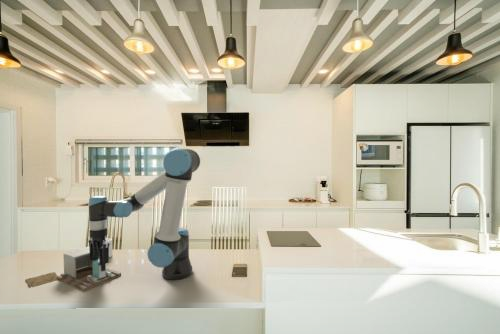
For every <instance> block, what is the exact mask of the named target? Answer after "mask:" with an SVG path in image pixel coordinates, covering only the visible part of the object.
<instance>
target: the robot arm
mask: <svg viewBox="0 0 500 334" xmlns="http://www.w3.org/2000/svg"><path fill="white" fill-rule="evenodd" d="M162 161H163V163H162V164H163V168H164V171H162V173H161V174H159V175H157V176H156V177H155V178H154V179H152V180H151V181H150V182H148V183H147V184H146V185H144V186H143V187H141V188H140V189H139V190H137V191H136V192H135V193H134V194H132V195H131V196H130V197H127V198H124V199H123V198H122V199H119V200H108V197H107V196H106V195H95V196H91V197H89V200H88V215H89V219H88V224H89V228H88V229H89V231H88V232H89V238H91V239H88V242H87V243H88V246H89V251H90V260H92V262H93V261H94V260H97V259H99V260H100V264H98V265H99V278H103V277H105V270H106V268H107V267H106V268H105V264H108V263H109V262H110V261H109V259H110V258H109V245H110V244H109V243H106V240H105V238H107V236H108V217H109V218H120V219H121V218H128V217H129V216H130V215H132V213H133V212H137V211H140V210H141V209H143V208H144V205H146V204H147V203H148V202H150V201H151V200H153V199H154V198H156V197H157V196H158V195H159V194H161V193H163V191H165V196H164V200H163V205H162V212H161V217H160V222H159V223H160V224H159V227H158V231H157V232H156V233H155V234H154V237H153V243H152V245H150V246H149V248H148V249H147V258H148V261H149V262H150V263H151V264H152V265H153V266H154V267H156V268H162V270H161V277H163V278H164V279H166V280H170V281H172V280H173V281H174V280H183V279H186V278H188V277H190V276H191V275H192V274H193V266H192V262H191V260H190V248H189V247H190V235H189V230H188V229H187V228H180V226H181V224H180V223H181V219H182V212H183V208H184V201H185V196H186V191H187V185H188V183H190V182H191V181H192V178H193V177H192V176H193V173H194V172H196V171H197V170H198V169H199V167H200V165H201V157H200V155H199V154H198V152H197V151H195V150H194V149H190V148H189V149H188V148H174V149H172V150H170V151H168V152H167V153H166V154H165V156H164V157H163V160H162ZM102 247H103V248H102Z"/></svg>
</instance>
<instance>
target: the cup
mask: <svg viewBox="0 0 500 334" xmlns="http://www.w3.org/2000/svg"><path fill="white" fill-rule="evenodd" d="M105 240H106V243H109V244H110V245H109V259H110V258H111V257H112V256H113V238H110V237H105ZM102 248H103V247H102Z"/></svg>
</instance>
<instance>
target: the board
mask: <svg viewBox="0 0 500 334" xmlns="http://www.w3.org/2000/svg"><path fill="white" fill-rule="evenodd" d="M121 276H122V272H119V271H116V270H113V269H110V268H107V267H106V276H105V277H103V278H100V279H97V278H96V277H93V267H91V266H86V267H83V268H80V269H77V270H76V278H73V277H71V276H68V275H66V274H64V272H63V273H60V274H59V275H57V278H58V279H59V280H58V281H61V282H64V283H66V284H68V285H70V286H72V287H74V288H76V289H79V290H81V291H84V292H85V291H88V290H91V289H92V288H95V287H97V286H100V285H102V284H104V283H107V282H109V281H111V280H114V279H116V278H119V277H121Z"/></svg>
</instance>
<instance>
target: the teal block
mask: <svg viewBox="0 0 500 334" xmlns="http://www.w3.org/2000/svg"><path fill="white" fill-rule="evenodd" d="M98 264H100V260H99V259H97V260H94V261H93V277H96V278H97V279H100V278H99V265H98ZM106 264H107V263H106ZM106 264H105V268H107V265H106ZM105 276H106V270H105Z"/></svg>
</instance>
